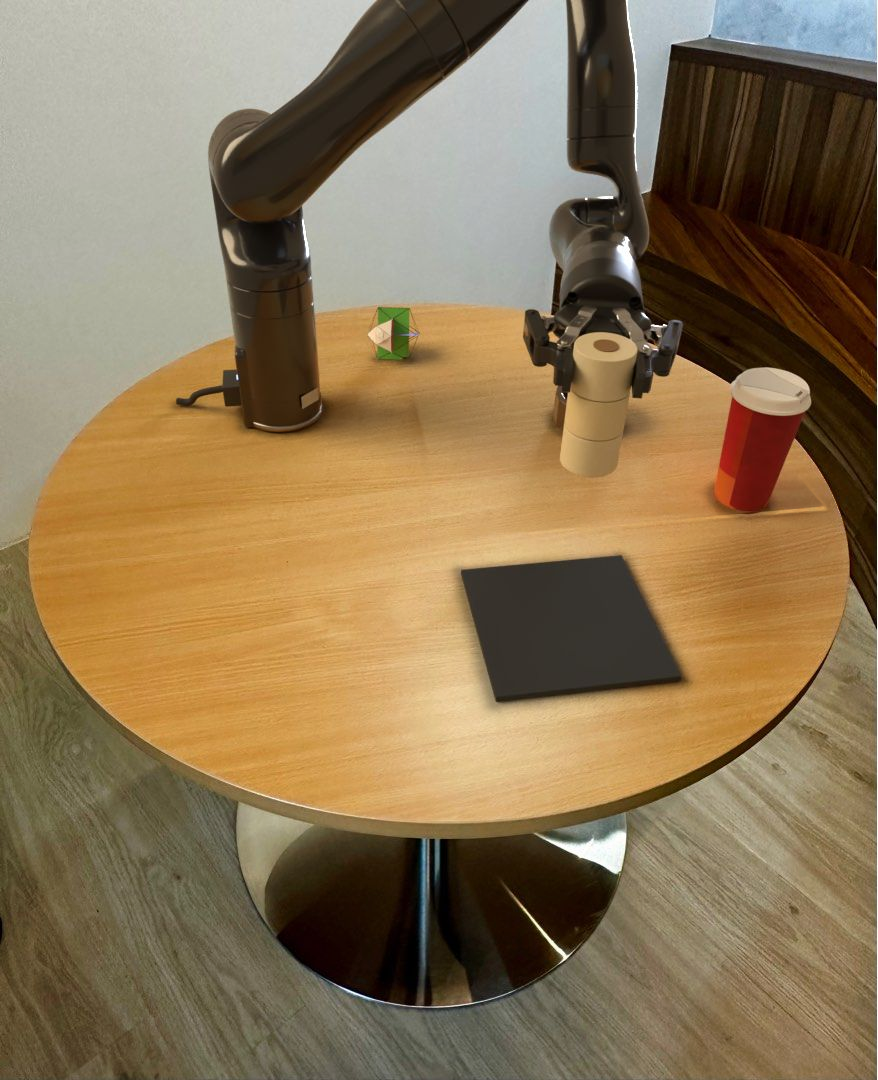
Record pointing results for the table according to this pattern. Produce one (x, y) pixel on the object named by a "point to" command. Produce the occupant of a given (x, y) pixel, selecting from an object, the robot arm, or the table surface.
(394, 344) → the geometric puzzle
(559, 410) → the ring
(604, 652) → the rubber mat
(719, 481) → the paper cup
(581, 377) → the tape stack
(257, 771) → the table surface
